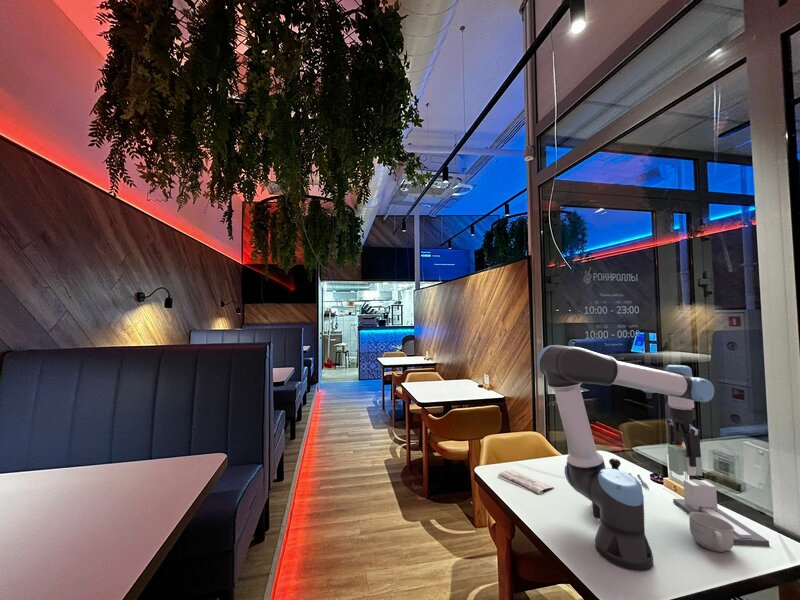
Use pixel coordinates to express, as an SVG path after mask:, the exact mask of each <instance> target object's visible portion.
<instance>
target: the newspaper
mask: <svg viewBox="0 0 800 600" xmlns="http://www.w3.org/2000/svg"><path fill="white" fill-rule="evenodd" d="M497 477H498V478H500V479H502V480H505V481H506V482H510V483H511V484H514V485H516V486H518V487H520V488H522V489H524V490H525V491H527V492H529V493H530V492H531V493H534V494H538V495H541V494H544V493H543V491H544V490H547V489H552V488H554V489H555V487H554V486H551V485H549V484H547V483H544V482H541V481H539V480H537V479H534V478H532V477H530V476H527V475H525V474H523V473H520V472H518V471H516V470H513V469H509V470H504V471H501V472H499V473H498V475H497ZM541 490H542V491H541Z"/></svg>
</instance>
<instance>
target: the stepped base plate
mask: <svg viewBox="0 0 800 600" xmlns="http://www.w3.org/2000/svg"><path fill="white" fill-rule="evenodd" d="M683 494H684V495H683V496H684V499H683V498H673V501H672V503H673V504H675V505H676V506H677V507H679V508H680V509H681V510H683V511H684V512H685V513H686V514H687V515H689V513H691V512H702V513H707V514H710V515H713V516H716V517H718V518H721V519H723V520H725V521H727V522H728V523H730V524H731V525H732V526H733V527H734V541H733V545H745V546H746V545H748V546H749V545H750V546H765V547H769V546H770V540H768V539H767V538H765V537H763V536H762V535H761V534H759V533H758V532H756V531H754V530H753V529H751V528H749V527H748V526H746V525H745V524H743V523H742V522H740V521H738V519H736V518H734V517H732V516H731V515H729V514H727V513H726V512H725V511H723V510H721V509H720V508H719V507H718V497H717V486H716V485H714V484H712V483H711V482H709V481H707V480H705V479H704V480H702V479H701V480H700V479H683Z"/></svg>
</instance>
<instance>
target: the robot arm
mask: <svg viewBox="0 0 800 600" xmlns="http://www.w3.org/2000/svg"><path fill="white" fill-rule="evenodd" d="M536 365H537V369H538V370H539V372H540V373H541V374H542V375H543V376H545V379H546V382H547V386H548V387H549V388H551V389H552V390H553V391H554V396H555V400H556V404H557V406H558V407H557V408H558V411H559V417H560V420H561V423H562V427H563V432H564V435H565V440H566V442H567V447H568V451H569V454H568V455H567V457H566V464H565V466H564V477H565V478H566V481H567V483H568V484H569V486H570V487H572V488H573V489H574V490H575V491H576V492H577V493H578V494H580V495H582V496H583V497H585V498H586V499H588V500H589V501H590V502H591V503H592V502H593V503H595V504H596V505H597V506H599V507H600V519H599V520H600V522H599V525H598V527H597V528H598V529H597V532H596V534H595V537H594V547H595V550H596V552H597V553H598V554H599V556H600V557H602V558H603V559H604V560H606V561H607V562H608V563H610V564H613V565H615V566H617V567H619V568H622V569H625V570H630V571H633V572H644V571H645V572H647V571H649V570H651V569H652V568H653V567H654V554H653V552H652V551H653V550H652V548H651V546H650V543H649V540H648V539H647V538H648V537H647V536H646V533H645V532H646V530H645V504H644V503H645V500H644V499H645V498H644V497H645V496H644V494H643V486H642V483H640V482H641V481H639V480H638V479H637V478H636V477H634V476H633V475H632V474H631V475H630V474H629V472H628V473H627V472H625V471H622V470H620V469H619V470H617V469H611V468H612V467H611V468H607V467H606V463H605V461H604V460H605V459H604V457H603V455H602V454H600V453H598V452H597V448H596V444H595V441H594V436H593V433H592V429H591V426H590V421H589V418H588V414H587V410H586V406H585V402H584V398H583V394H582V391H581V385H582V384H593V385H599V386H600V385H601V386H605V387H607V386H608V387H609V386H611V385H616V386H617V385H618V386H622V387H627V388H632V389H636V390H641V391H642V392H644V393H647V394H648V393H651V394H656V393H658V394H662V395H667V403H668V406H669V407H668V415H669V417H671V418H672V419H666V422H667V430H668V445H683V441H684V445H685V447H686V451H687V455H685V456H686V469H687V472H686V475H687V476H693V477H694V476H697V475H696V457H701V458H702V450H701V438H700V435H701V430H700V428H699V429H698V428H696V427H694V424H693V421H694V420H695V419H696V410H695V409H694V408H695V402H701V403H707V402H709V401H711V400H712V399H713V398H714V395H715V386H714V384H713V383H712V381H710V380H708V379H705V378H703V377H702V378H701V377H698V376H697V377H696V376H695V377H694V376H693V372H692V368H691V367H690V366H688V365H682V364H681V365H680V364H668V365H666V366H665V370H662V369H656V368H653V367H652V368H651V367H648V366H643V365H638V364H634V363H628V362H624V361H619V360H616V358H614V357H613V356H610V355H606V354H602V353H599V352H595V351H592V350H589V349H587V348H584V347H583V348H582V347H578V346H567V345H560V344H554V345H548V346H546V347H544V348H542V349H541V350H540V352H539V353H538V355H537V358H536ZM700 450H701V451H700Z"/></svg>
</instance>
